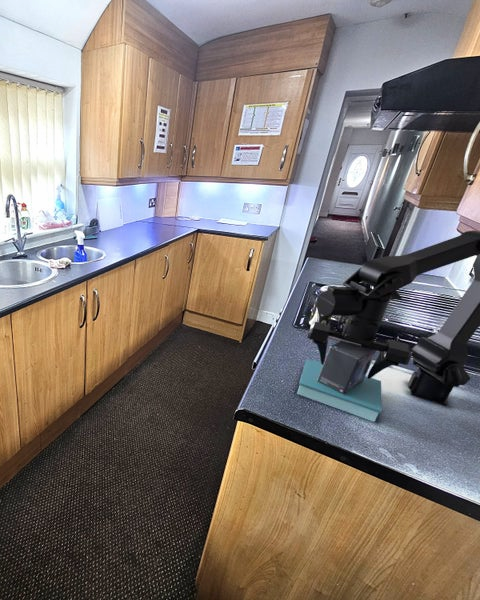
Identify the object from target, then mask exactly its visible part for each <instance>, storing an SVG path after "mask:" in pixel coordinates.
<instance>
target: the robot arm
mask: <svg viewBox="0 0 480 600" xmlns="http://www.w3.org/2000/svg"><path fill="white" fill-rule="evenodd" d="M472 257H475V259H474V261H473V264H472V268H473V276H474V278H473V280H472V282H471V283H470V285H469V286H468V288H467V289H466V291H465V292H464V294H463V295H462V296H461V298H460V300H459V301H458V302H457V304H456V305H455V307H454V309H452V311H451V313H450V314H449V315H448V317H447V318H446V320H445V321H444V323H443V324H442V325H441V326H440V329H439V330H438V331H437V333H435V334H433V335H430V336H427V337H425V336H421V337H420V338H418V341H417V343H416V344H415V345H414V346H413V347H412V348H411V347H410V345H409V344H408V343H405V342H402V341H401V342H400V341H397V340H392V339H387V340H386V342H385V343H383V342H379V341H375V338H376V335H377V333H378V331H379V329H380V325H381V323H382V321H383V318H384V316H385V314H386V312H387V309H388V306H389V304H390V302H391V300H401V299H402V298H403V297H402V295H401V294H400V293H399V292H398V291H397V290H400V289H402V288H405V287H406V286H408V285H411V284H412V283H413V282H414V280H415V279H416V278H417V277H418V276H421V275H423V274H426V273H428V272H431V271H435V270H437V269H440V268H442V267H446V266H449V265H451V264H454V263H457V262H461V261H464V260H466V259H470V258H472ZM363 283H364V284H363ZM365 284H367V285H368V286H367V285H365ZM369 286H370V287H369ZM372 287H373V288H372ZM316 298H317V301H316V300H315V301H316V305H317V309H318V311H319V313H320V314H322V315H324V316H332V317H334V316H335V317H337V316H338V320H337V323H338V324H342V325H344V326H343V328H342V332H339V331H335V330H331V327H332V325H331V324H329V325H327V324H323V323H319V322H313V323H312V325H310V327H309V330H308V334H307V336H306V337H307V338H308V339H309V340H312V343H313V344H314V345H315V344H316V345H317V349H318V352H319V358H320V363H321V364H322V365H323V364H324V361H325V359H326V356H327V352H328V344H329V339H332V340H336V341H338V342H340V341H343V342H347V343H350V344H354V345H358V346H362V347H366V348H369V349H373V350H377V351H376V352H379V354H378V356H377V358H376V359H375V361H374V363H373V365H372V366H371V367H370V368H369V370H368V372H367V373H368V374H367V375H366V377H367V378H368V379H370V378H373V377H375V376H376V375H377V374H379V373H380V372H382V371H383V370H385V369H387V368H389V367H391V366H395V367H396V366H397V367H398V366H399V365H400V364H401V365H403V366H404V365H406V366H407V365H409V363H410V361H411V359H412V365H413V366H415V367H417V368H418V369H417V371H413V372H412V374H411V375H410V378H409V380H408V382H407V388H408V390H409V394H410V396H413V397H416V398H419V399H422V400H426V401H428V402H432V403H434V404H435V403H436V404H438V405H440V406H441V405H442V406H446V407H447V406H448V401H447V399H448V398H449V396H450V394H451V393H452V390H454V387H455V388H459V387H460V386H465V385H466V384H467V383H468V382H469V381H470V380H471V376H470V375H469V373H468V372H467V371H466V370H465V368H464V366H465V365H466V363H467V361H468V359H469V355H468V354H469V352H468V345H467V344H468V342H469V341H470V340H471V338H472V337H473V335H474V334H475V333H476V332H477V330H478V329H479V328H480V230H475V229H474V230H473V229H472V230H467V231H464V232H462V233H461V234H460V235H457V236H455V237H452V238H449V239H446V240H444V241H441V242H438V243H435V244H432V245H429V246H427V247H424V248H422V249H419V250H415V251H413V252H410V253H406V254H401V255H387V256H382V257H375V258H372V259H369V260H367V261H365V262H364V263H363V264H362V266H361V267H360V268H359V269H357V270H356V271H355V272H353V274H351V275H350V276H349V277H348V278H347V279H346V280H344V281H343V282H342V286H336V285H328V286H327V289H326V290H323V291H322V292H320V293H319V295H318V296H316Z"/></svg>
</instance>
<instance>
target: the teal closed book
mask: <svg viewBox="0 0 480 600" xmlns="http://www.w3.org/2000/svg"><path fill="white" fill-rule="evenodd" d="M322 367H323V365H322V364H321V361H316V360H313V359H310V358H306V362H305V364H304V366H303V370H302V373H301V376H300V379H299V383H298V385H299V387H298V389H297V392H296V395H299V396H301V397H305V398H307V399H310V400H313V401H315V402H318V403H321V404H324V405H326V406H329V407H331V408H335V409H338V410H340V411H343V412H345V413H348V414H352V415H354V416H357V417H360V418H362V419H364V420H365V419H366V420H368V421H371V422H374V423H375V422H376V420H377V418H378V415H379V414H382V412H383V404H382V403H383V400H382V380H380V379H377V378H373V377H371V378H370V379H368V378H367V375H366V376H365V378H364V380H363V382H361V383H360V384H358V385H357V386H355V387H354V388H352V389H351V390H349V391H348V392H346V393H345V394H342V393H340V392H338V391H336V390H334V389H332V388H330V387H328V386H326V385H324V384H322V383H320V382H318V381H317V379H318V377H319V374H320V372H321V369H322Z"/></svg>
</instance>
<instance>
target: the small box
mask: <svg viewBox="0 0 480 600" xmlns="http://www.w3.org/2000/svg"><path fill="white" fill-rule="evenodd" d="M377 352H378V351H377V350H373V349H369V348H366V347H362V346H358V345H354V344H350V343H347V342H343V341H338V342H336V343H334V344H332V345H331V346H329V348H328V350H327V352H326V357H325V361H324V364H323V367H322V369H321V372H320V374H319V377H318V379H317V381H318V382H320V383H322V384H324V385H326V386H328V387H330V388H332V389H334V390H336V391H338V392H340V393H342V394H345V393H346V392H348V391H349V390H351V389H352V388H354V387H355V386H357V385H358V384H360V383H361V382H363V380H364V378H365V376H366V377H367V375H368V374H367V373H368V372H369V370H370V368H371V367H370V366H371V364H372V362H373V360H374V358H375V355H376V353H377Z"/></svg>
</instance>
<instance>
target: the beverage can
mask: <svg viewBox="0 0 480 600" xmlns="http://www.w3.org/2000/svg"><path fill="white" fill-rule="evenodd" d="M316 301H317V297H316V299H315V301H314V304H313V307H312V309H311V310H312V311H311V314H310V318H309V320H308V324H309V325H310V326H311V325H312V323H313V322H319V323H323V324H327V325H330V322H331V319H332V318H333V316H324V315H322V314H320V313H319V311H318V309H317V305H316Z"/></svg>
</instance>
